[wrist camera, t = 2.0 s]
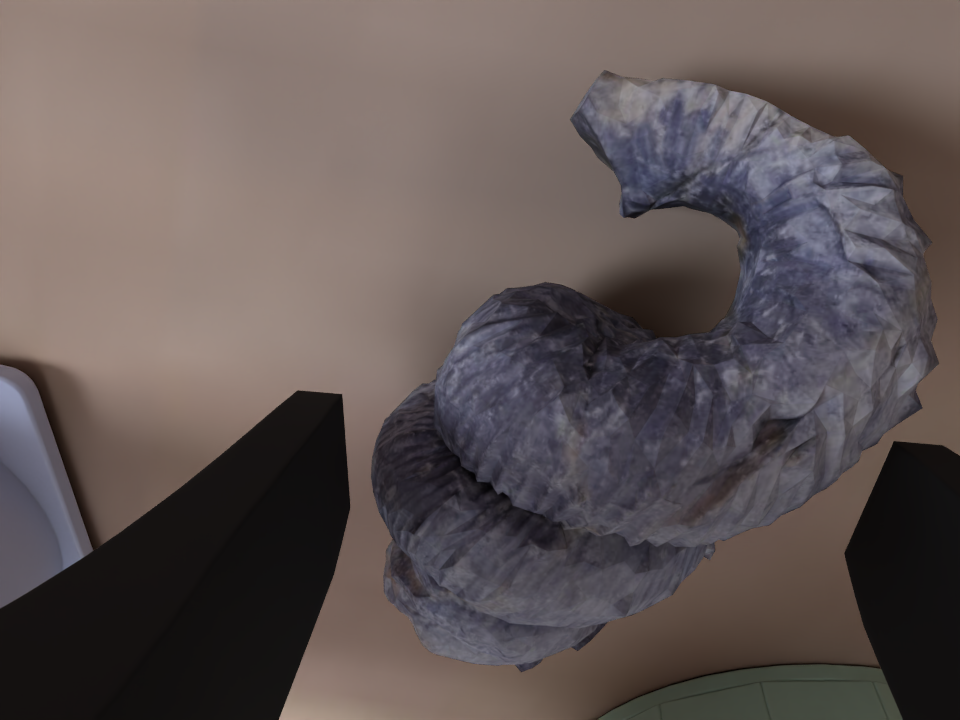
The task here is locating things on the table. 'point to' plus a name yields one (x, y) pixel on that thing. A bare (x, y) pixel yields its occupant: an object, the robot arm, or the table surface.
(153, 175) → the table surface
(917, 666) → the robot arm
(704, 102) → the seashell
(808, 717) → the crock
